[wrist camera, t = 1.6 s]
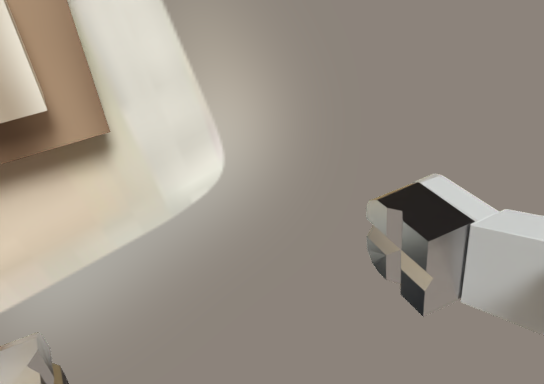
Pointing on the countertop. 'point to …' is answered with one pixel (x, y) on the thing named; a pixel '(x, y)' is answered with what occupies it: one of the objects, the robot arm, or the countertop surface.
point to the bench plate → (53, 83)
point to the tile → (16, 73)
